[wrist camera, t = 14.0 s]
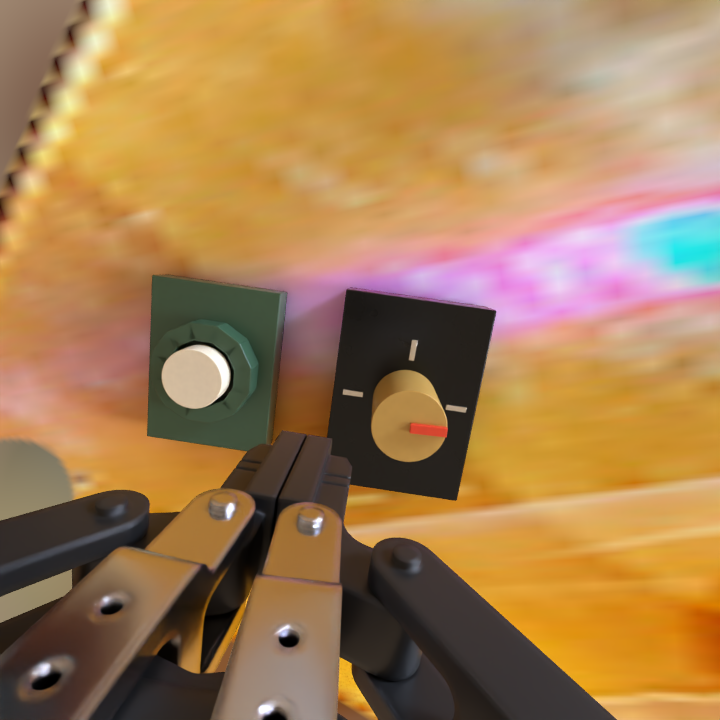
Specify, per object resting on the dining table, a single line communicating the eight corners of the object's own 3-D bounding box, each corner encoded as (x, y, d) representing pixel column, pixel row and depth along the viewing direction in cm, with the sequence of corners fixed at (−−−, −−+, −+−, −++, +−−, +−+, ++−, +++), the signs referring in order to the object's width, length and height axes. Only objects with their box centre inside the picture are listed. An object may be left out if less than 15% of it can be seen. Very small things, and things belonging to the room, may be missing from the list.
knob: (369, 426, 30) (367, 460, 25) (376, 366, 29) (375, 387, 24) (431, 433, 30) (442, 468, 25) (440, 373, 29) (453, 396, 24)
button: (175, 340, 29) (162, 344, 27) (233, 348, 29) (224, 354, 27) (172, 396, 30) (160, 404, 28) (229, 404, 29) (219, 413, 28)
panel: (349, 286, 31) (346, 289, 28) (485, 306, 31) (497, 311, 28) (326, 462, 34) (320, 481, 31) (450, 481, 34) (457, 502, 31)
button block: (167, 274, 31) (137, 275, 27) (287, 291, 31) (274, 295, 27) (161, 425, 34) (133, 446, 30) (272, 442, 34) (258, 465, 30)
